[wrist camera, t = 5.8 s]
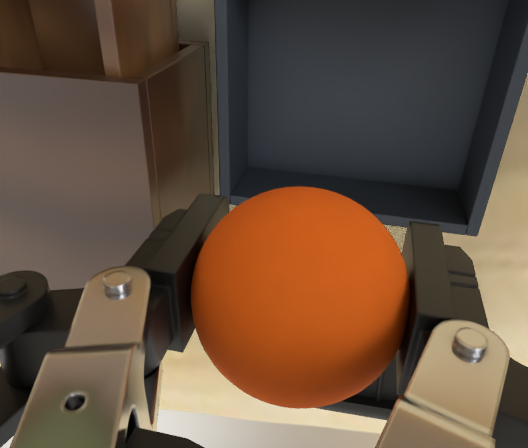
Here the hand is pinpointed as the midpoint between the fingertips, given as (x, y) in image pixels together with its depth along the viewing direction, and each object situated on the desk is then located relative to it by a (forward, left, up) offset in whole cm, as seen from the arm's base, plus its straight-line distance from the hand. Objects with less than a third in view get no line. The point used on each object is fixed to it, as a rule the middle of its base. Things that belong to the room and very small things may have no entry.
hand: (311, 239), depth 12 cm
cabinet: (+14, +5, -16) cm, 22 cm away
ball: (0, 0, +2) cm, 2 cm away
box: (-1, 0, -16) cm, 16 cm away
